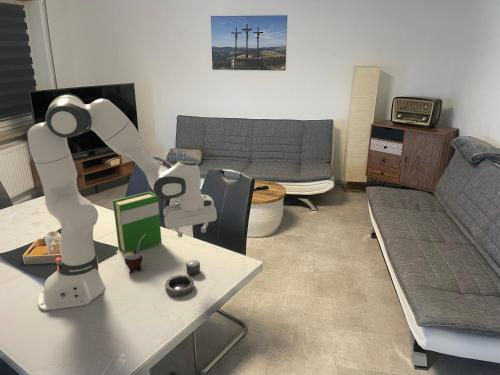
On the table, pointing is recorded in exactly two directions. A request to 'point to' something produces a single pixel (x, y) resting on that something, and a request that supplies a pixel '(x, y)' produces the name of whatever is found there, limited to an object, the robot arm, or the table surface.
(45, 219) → the table surface
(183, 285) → the grey ashtray
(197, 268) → the cap
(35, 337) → the table surface
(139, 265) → the mate gourd
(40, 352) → the table surface
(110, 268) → the table surface
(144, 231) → the hardback book
